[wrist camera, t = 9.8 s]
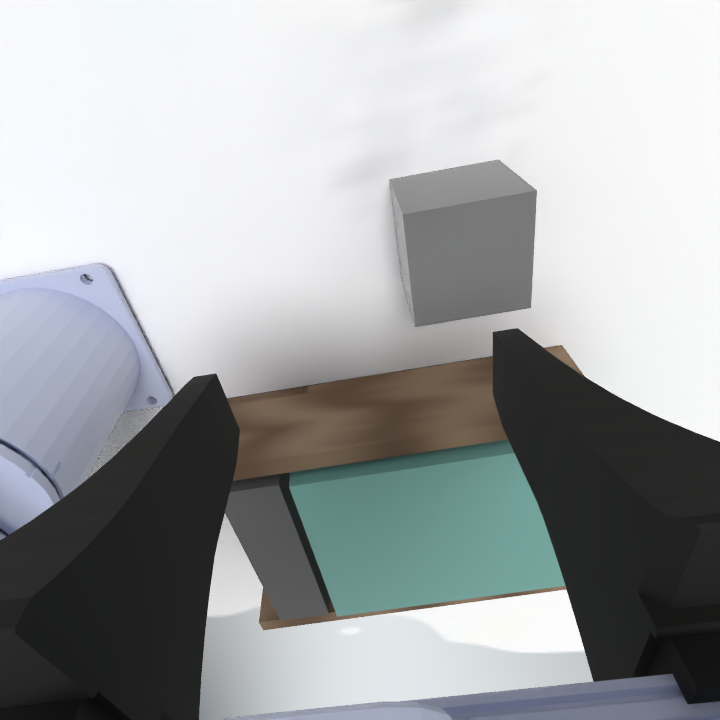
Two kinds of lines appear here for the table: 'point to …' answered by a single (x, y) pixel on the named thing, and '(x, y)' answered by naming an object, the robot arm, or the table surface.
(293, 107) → the table surface
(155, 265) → the table surface
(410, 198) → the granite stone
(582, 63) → the table surface
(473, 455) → the trapdoor
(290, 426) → the frame
